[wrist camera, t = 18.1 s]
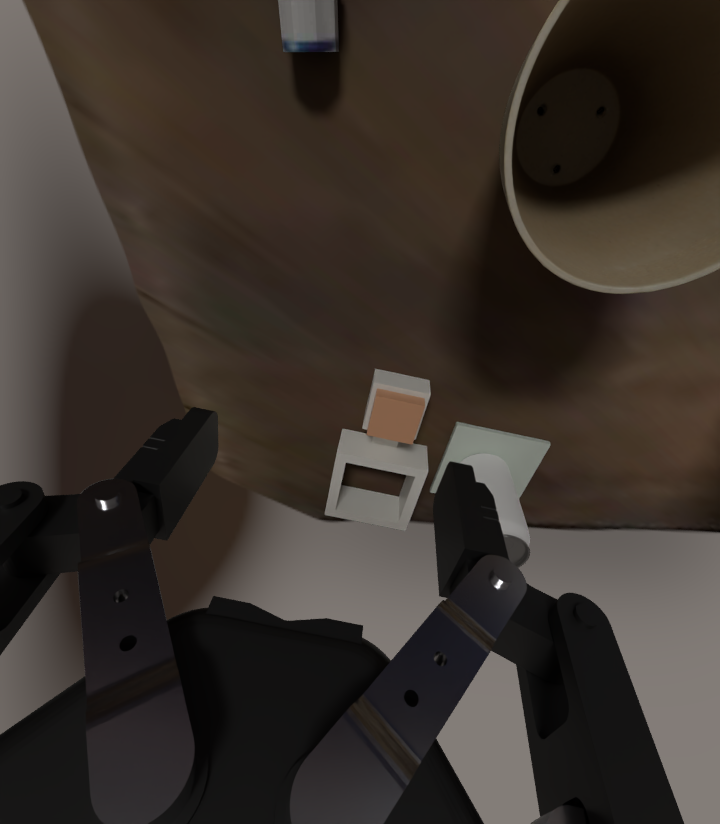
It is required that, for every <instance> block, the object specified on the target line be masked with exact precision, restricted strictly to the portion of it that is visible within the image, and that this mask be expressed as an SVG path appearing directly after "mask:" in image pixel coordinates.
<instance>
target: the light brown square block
mask: <svg viewBox="0 0 720 824" xmlns="http://www.w3.org/2000/svg"><path fill="white" fill-rule="evenodd" d="M424 408H425V398H421V397H416V396H411V395H406V394H402V393H397V392H392V391H388V390H383V389H378V388H377V390H376V394H375V398H374V403H373V407H372V411H371V415H370V419H369V423H368V427H367V434H366V435H368V436H373V437H378V438H383V439H388V440H392V441H397V442H402V443H407V444H413V441H414V438H415V435H416V432H417V429H418V426H419V423H420V420H421V417H422V414H423V411H424Z"/></svg>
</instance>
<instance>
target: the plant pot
mask: <svg viewBox="0 0 720 824" xmlns="http://www.w3.org/2000/svg"><path fill="white" fill-rule="evenodd" d="M539 107H542V108H543V114H542V115H539V114H538V113H537V110H538V108H539ZM601 107H603V108H604V111H603V112H602V113H600V114H598V113H597V110H598V109H599V108H601ZM499 162H500V174H501V181H502V186H503V190H504V194H505V198H506V201H507V204H508V207H509V210H510V213H511V216H512V218H513V221H514V224H515V226H516V228H517V230H518V232H519V234H520V236H521V238H522V240H523V241H524V243H525V244H526V246H527V248H528V249H529V250H530V252H531V253H532V254H533V255H534V256H535V257H536V259H537V260H538V261H539V262H540V263H541V264H542V265H543V266H544V267H546V268H547V269H548V270H549V271H551V272H552V273H553V274H555V275H556V276H558V277H560V278H561V279H563V280H565V281H567V282H569V283H571V284H573V285H576V286H579V287H581V288H585V289H589V290H592V291H597V292H604V293H613V294H632V293H644V292H651V291H657V290H662V289H666V288H671V287H675V286H678V285H681V284H684V283H687V282H690V281H692V280H695V279H698V278H700V277H703V276H705V275H707V274H709V273H711V272H714V271H716V270H718V269H720V0H559V1H558V3H557V4H556V6H555V7H554V9H553V11H552V12H551V14H550V16H549V17H548V19H547V21H546V22H545V24H544V26H543V27H542V29H541V31H540V33H539V34H538V36H537V38H536V40H535V42H534V43H533V45H532V47H531V49H530V51H529V52H528V54H527V57H526V59H525V61H524V63H523V65H522V67H521V69H520V71H519V74H518V76H517V78H516V81H515V83H514V86H513V88H512V91H511V94H510V97H509V100H508V103H507V106H506V110H505V114H504V118H503V122H502V129H501V135H500V147H499ZM557 165H559V166H560V169H559V171H558V172H557V173H554V171H553V169H554V167H555V166H557Z"/></svg>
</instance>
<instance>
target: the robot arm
mask: <svg viewBox="0 0 720 824" xmlns="http://www.w3.org/2000/svg"><path fill="white" fill-rule="evenodd" d="M217 453H218V416H217V413H216V412H215V411H210V410H205V409H200V408H196V407H193V408H191V409H190V410H189V412H188V413H187V414H186V415H185V417H184V418H183V419H182V420H179V419H172V420H170V421H168V422H166V423H165V424H163V425H161V426H160V427H159V428H158V429H157V430H156V431H155V432H154V433H153V435H152V436H151V437H150V439H148V440H147V441H146V442H145V443H144V445H143V447H142V448H140V449H139V450H138V451H137V452H136V454H135V455H134V456H133V457H132V458H131V459H130V461H129V462H128V463H127V464H126V465H125V466H124V467H123V468H122V470H121V471H120V472H119V473H118V474H117V475H116V476H115V477H114V479H107V480H103V481H99V482H97V483H94V484H92V485H90V486H89V487H87V488H86V489H85V490H84V491H83V492H82V493H81V494H75V495H55V496H45V495H44V493H43V490H42V488H41V487H40V486H39V485H37V484H35V483H31V482H24V481H23V482H12V483H7V484H4V485H1V486H0V655H1V654H2V652H3V651H4V649H5V648H6V647H7V645H8V644H9V642H10V641H11V640H12V638H13V637H14V636H15V634H16V633H17V632H18V630H19V629H20V628H21V626H22V625H23V623H24V622H25V621H26V619H27V618H28V617H29V615H30V614H31V613H32V611H33V610H34V608H35V607H36V606H37V604H38V603H39V602H40V600H41V599H42V597H43V596H44V595H45V593H46V592H47V590H48V589H49V588H50V587H51V585H52V584H53V583H54V581H55V580H56V578H57V577H58V576H59V574H60V573H65V572H75V571H78V581H79V596H80V608H81V609H80V610H81V623H82V638H83V652H84V666H85V677H83V678H82V679H80V680H79V681H77V682H76V683H74V684H73V685H72V686H70V687H69V688H67V689H66V690H64V691H63V692H61V693H60V694H59V695H57V696H56V697H54V698H53V699H52V700H50V701H48V702H47V703H45V704H44V705H43V706H41V707H40V708H38V709H37V710H35V711H34V712H32V713H31V714H30V715H28V716H27V717H25V718H24V719H22V720H21V721H19V722H18V723H17V724H15V725H14V726H12V727H11V728H9V729H8V730H6V731H5V732H4V733H2V734H1V735H0V824H484V823H483V821H482V820H481V818H480V816H479V814H478V812H477V811H476V809H475V807H474V805H473V803H472V802H471V800H470V799H469V796H468V795H467V793H466V791H465V789H464V787H463V786H462V784H461V782H460V780H459V778H458V777H457V775H456V773H455V772H454V770H453V768H452V766H451V765H450V762H449V761H448V759H447V757H446V756H445V754H444V752H443V750H442V748H441V746H440V745H439V743H438V741H437V739H436V737H437V736H438V734H439V733H440V731H441V729H442V728H443V726H444V725H445V723H446V721H447V720H448V718H449V716H450V715H451V713H452V712H453V710H454V709H455V707H456V706H457V704H458V702H459V701H460V699H461V698H462V696H463V694H464V693H465V691H466V690H467V688H468V686H469V685H470V683H471V682H472V680H473V678H474V677H475V675H476V674H477V672H478V670H479V669H480V667H481V666H482V664H483V663H484V661H485V659H486V658H487V656H488V655H489V653H490V651H493V652H495V653H497V654H499V655H500V656H502V657H504V658H506V659H508V660H509V661H511V662H513V663H515V664H516V666H517V672H518V678H519V685H520V690H521V697H522V703H523V710H524V716H525V723H526V729H527V735H528V742H529V748H530V754H531V761H532V767H533V773H534V779H535V786H536V792H537V798H538V805H539V812H540V818H538V819H536V820H535V821H533V822H532V823H531V824H684V822H683V819H682V817H681V814H680V811H679V808H678V806H677V803H676V800H675V798H674V795H673V792H672V789H671V787H670V784H669V782H668V779H667V776H666V774H665V771H664V768H663V765H662V762H661V760H660V757H659V755H658V752H657V749H656V746H655V744H654V741H653V738H652V735H651V733H650V730H649V727H648V725H647V722H646V719H645V717H644V714H643V711H642V709H641V706H640V703H639V700H638V698H637V695H636V692H635V690H634V687H633V684H632V682H631V679H630V676H629V674H628V671H627V668H626V666H625V663H624V660H623V657H622V654H621V652H620V649H619V646H618V644H617V641H616V638H615V636H614V633H613V630H612V627H611V625H610V623H609V621H608V619H607V617H606V615H605V614H604V613H603V612H602V610H601V609H600V608H599V607H598V606H597V605H596V604H595V603H593V602H592V601H591V600H589V599H587V598H586V597H584V596H582V595H578V594H575V593H566V594H563V595H562V596H561V597H559V599H558V600H557V599H555V598H553V597H551V596H549V595H547V594H545V593H543V592H541V591H539V590H537V589H535V588H533V587H531V586H530V585H529V584H527V583H526V580H525V578H524V576H523V574H522V572H521V571H520V570H519V569H518V567H517V566H516V565H514V564H513V563H512V562H511V561H510V560H509V557H508V553H507V549H506V545H505V541H504V537H503V533H502V529H501V525H500V522H499V516H498V512H497V511H496V509H497V508H496V504H495V500H494V496H493V495H492V493H491V492H490V490H489V489H488V488H487V486H486V485H485V484H484V483H480V482H476V479H475V475H474V470H473V467H472V466H471V465H467V464H462V463H457V462H452V461H450V462H449V463H448V465H447V467H446V469H445V472H444V474H443V476H442V479H441V481H440V484H439V486H438V489H437V491H436V494H435V498H434V504H433V515H434V528H435V542H436V554H437V555H436V556H437V570H438V582H439V583H438V584H439V596H441V597H446V598H447V599H446V601H444V600H443V601H442V602H441V603H440V604H439V605H438V606H437V607H436V608H435V609H434V611H433V612H432V613H431V614H430V615H429V617H428V618H427V619H426V620H425V621H424V623H423V624H422V625H421V626H420V627H419V628H418V630H417V631H416V632H415V633H414V634H413V635H412V637H411V638H410V639H409V640H408V641H407V643H406V644H405V645H404V646H403V647H402V649H401V650H400V651H399V652H398V653H397V654H396V656H395V657H394V658H393V659H392V660H390V659H389V658H388V657H387V656H386V655H385V654H384V653H383V652H382V651H381V650H380V649H378V648H377V647H376V646H375V645H373V644H372V643H370V642H369V641H367V640H365V639H364V638H362V631H363V626H362V625H357V624H352V623H347V622H342V621H337V620H332V619H327V618H325V619H310V620H295V621H286V620H283V619H281V618H279V617H277V616H274V615H273V614H271V613H269V612H267V611H265V610H262V609H261V608H259V607H257V606H255V605H252V604H251V603H245V602H241V601H236V600H231V599H226V598H220V597H216V596H213V598H212V600H211V603H210V605H209V607H208V608H201V609H196V610H191V611H188V612H185V613H182V614H179V615H177V616H175V617H172V618H171V619H169V620H166V615H165V611H164V606H163V602H162V597H161V594H160V589H159V584H158V580H157V576H156V571H155V566H154V562H153V558H152V553H151V549H150V544H151V542H152V541H153V539H154V538H157V539H162V540H168V538H169V537H170V535H171V533H172V532H173V530H174V528H175V527H176V525H177V523H178V522H179V520H180V519H181V517H182V515H183V514H184V512H185V510H186V509H187V507H188V505H189V504H190V502H191V500H192V499H193V497H194V495H195V494H196V492H197V491H198V489H199V487H200V486H201V484H202V482H203V481H204V479H205V477H206V476H207V473H208V472H209V471H210V469H211V468H212V466H213V464H214V462H215V460H216V457H217Z"/></svg>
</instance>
